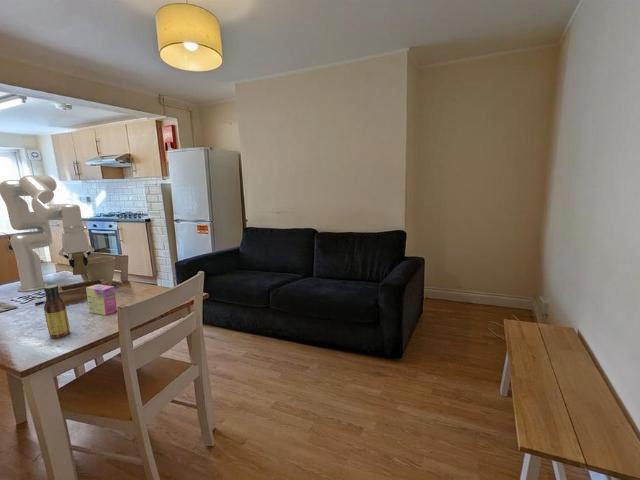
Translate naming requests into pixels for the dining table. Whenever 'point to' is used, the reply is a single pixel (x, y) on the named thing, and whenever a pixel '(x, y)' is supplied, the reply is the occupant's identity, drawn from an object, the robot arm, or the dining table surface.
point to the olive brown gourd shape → (79, 264)
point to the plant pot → (101, 268)
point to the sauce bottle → (55, 313)
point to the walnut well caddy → (77, 291)
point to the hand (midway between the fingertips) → (79, 265)
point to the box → (101, 299)
